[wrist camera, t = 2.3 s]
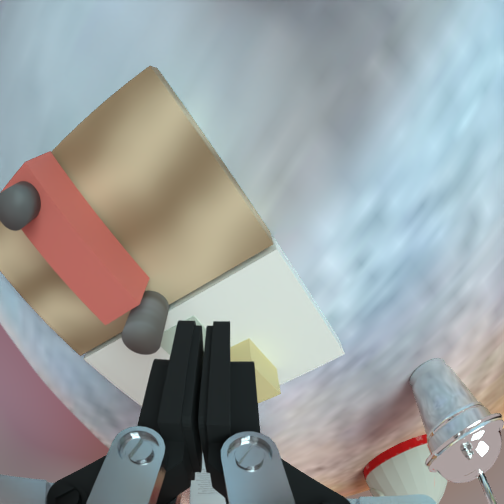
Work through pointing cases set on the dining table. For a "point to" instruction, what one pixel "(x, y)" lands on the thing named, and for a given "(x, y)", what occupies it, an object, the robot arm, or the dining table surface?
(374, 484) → the kitchen timer
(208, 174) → the tan wavy block
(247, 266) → the door
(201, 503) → the small box
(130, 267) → the swing bar
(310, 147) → the dining table surface
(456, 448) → the cup with straw
